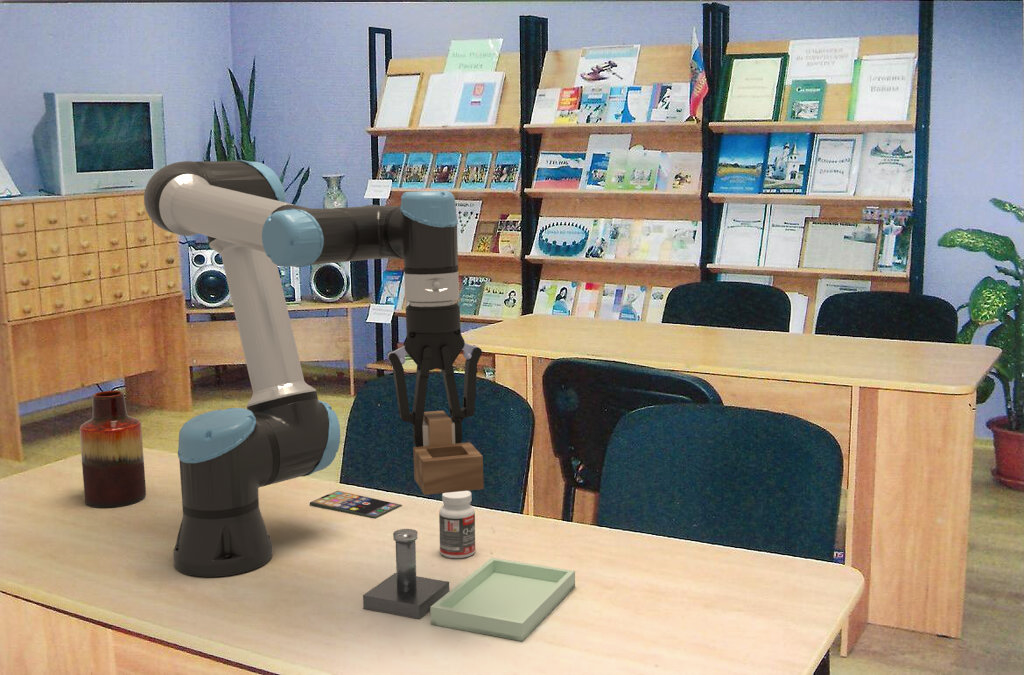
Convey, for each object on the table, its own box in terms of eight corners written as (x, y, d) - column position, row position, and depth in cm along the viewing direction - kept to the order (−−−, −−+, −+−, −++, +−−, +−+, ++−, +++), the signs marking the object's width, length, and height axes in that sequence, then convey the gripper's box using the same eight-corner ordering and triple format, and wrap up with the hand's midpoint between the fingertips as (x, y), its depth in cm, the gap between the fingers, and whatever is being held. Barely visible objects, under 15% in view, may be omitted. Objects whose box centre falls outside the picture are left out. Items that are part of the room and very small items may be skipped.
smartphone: (375, 521, 188) (375, 514, 188) (309, 508, 195) (309, 501, 195) (402, 508, 195) (401, 501, 195) (337, 496, 202) (337, 489, 202)
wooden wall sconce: (483, 488, 141) (481, 430, 140) (424, 495, 139) (421, 435, 138) (462, 462, 155) (460, 409, 154) (407, 467, 153) (405, 413, 152)
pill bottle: (470, 560, 168) (469, 500, 166) (435, 558, 169) (434, 498, 167) (478, 547, 173) (478, 489, 172) (445, 545, 174) (444, 487, 173)
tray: (430, 624, 145) (430, 606, 144) (491, 573, 162) (491, 557, 162) (522, 641, 139) (522, 623, 139) (575, 586, 157) (575, 570, 157)
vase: (103, 489, 206) (96, 386, 203) (156, 491, 205) (149, 387, 201) (73, 507, 195) (65, 399, 192) (128, 509, 194) (121, 400, 191)
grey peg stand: (363, 608, 150) (361, 538, 148) (395, 585, 158) (393, 519, 156) (419, 619, 146) (417, 547, 145) (449, 594, 155) (448, 527, 153)
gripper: (378, 309, 142) (385, 479, 145) (495, 302, 146) (500, 468, 149) (371, 303, 149) (379, 465, 153) (483, 297, 153) (488, 455, 156)
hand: (438, 466), depth 151 cm, fingers closed on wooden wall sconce, 3 cm apart
